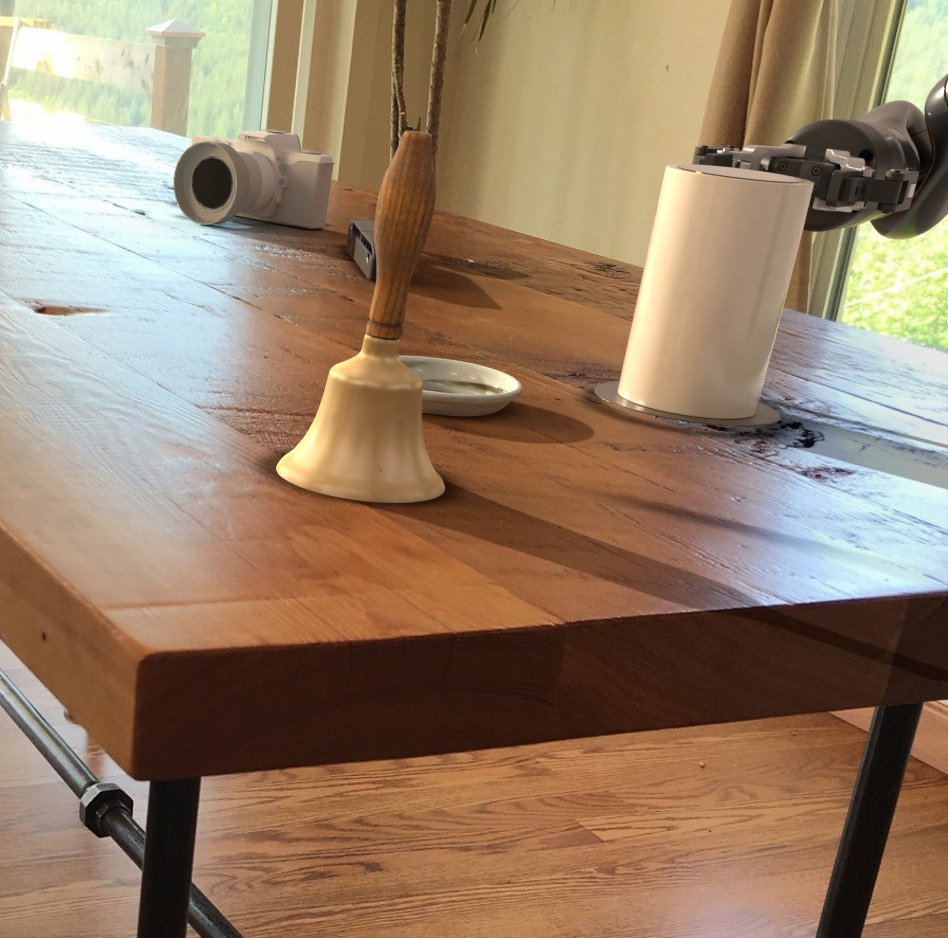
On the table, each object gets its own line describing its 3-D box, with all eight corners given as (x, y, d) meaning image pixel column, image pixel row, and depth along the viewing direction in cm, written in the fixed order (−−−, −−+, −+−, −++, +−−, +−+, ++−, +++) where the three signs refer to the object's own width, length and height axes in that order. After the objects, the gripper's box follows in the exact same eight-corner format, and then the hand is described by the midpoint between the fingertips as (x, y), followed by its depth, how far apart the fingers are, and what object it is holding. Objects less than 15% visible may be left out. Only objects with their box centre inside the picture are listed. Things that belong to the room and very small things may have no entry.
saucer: (317, 395, 97) (323, 353, 95) (460, 395, 100) (466, 354, 99) (396, 439, 89) (403, 394, 88) (548, 437, 92) (556, 394, 91)
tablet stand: (344, 250, 152) (349, 216, 151) (372, 252, 152) (377, 218, 151) (367, 282, 136) (372, 244, 135) (398, 285, 136) (404, 247, 135)
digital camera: (128, 247, 166) (118, 141, 163) (227, 237, 175) (220, 136, 172) (245, 236, 154) (236, 121, 151) (345, 226, 163) (339, 117, 160)
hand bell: (379, 456, 85) (430, 124, 78) (480, 504, 78) (545, 147, 71) (242, 464, 81) (282, 116, 74) (336, 515, 75) (390, 139, 68)
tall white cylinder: (768, 425, 95) (830, 188, 90) (625, 408, 96) (677, 171, 90) (730, 380, 107) (782, 167, 101) (602, 365, 107) (647, 152, 102)
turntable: (773, 413, 103) (777, 398, 103) (780, 452, 94) (784, 435, 93) (595, 387, 106) (598, 371, 105) (585, 422, 96) (588, 405, 96)
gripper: (756, 108, 122) (678, 106, 110) (956, 131, 115) (896, 132, 103) (732, 214, 126) (653, 224, 114) (925, 243, 118) (863, 256, 106)
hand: (769, 180), depth 108 cm, fingers open, 8 cm apart
